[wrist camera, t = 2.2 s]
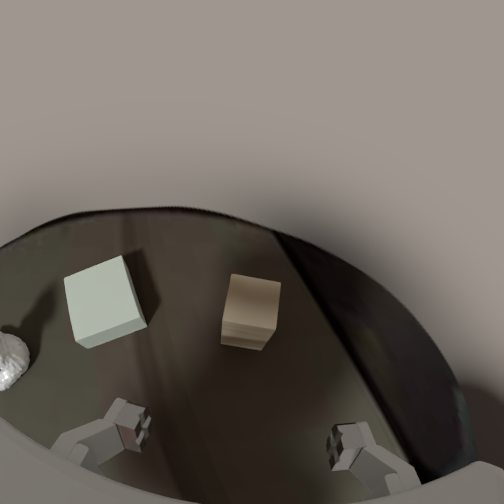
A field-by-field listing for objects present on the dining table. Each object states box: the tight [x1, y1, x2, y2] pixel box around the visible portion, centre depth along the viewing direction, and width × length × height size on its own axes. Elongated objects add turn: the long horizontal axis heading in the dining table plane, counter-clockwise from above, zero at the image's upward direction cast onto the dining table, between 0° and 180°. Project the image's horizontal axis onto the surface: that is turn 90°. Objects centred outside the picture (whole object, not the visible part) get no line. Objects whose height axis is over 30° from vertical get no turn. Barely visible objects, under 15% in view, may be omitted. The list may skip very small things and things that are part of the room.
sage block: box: [64, 256, 147, 348], centre depth 31 cm, size 9×9×4 cm
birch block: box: [221, 274, 281, 350], centre depth 30 cm, size 5×5×9 cm
